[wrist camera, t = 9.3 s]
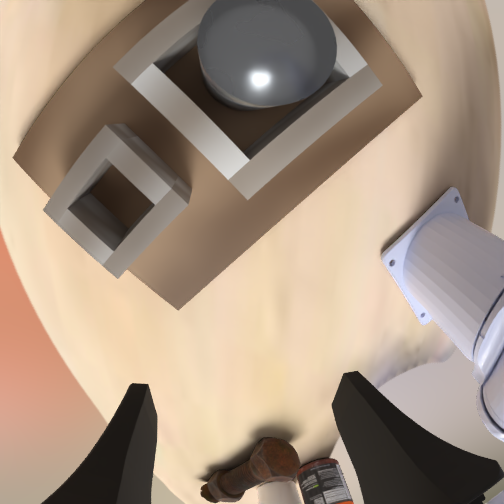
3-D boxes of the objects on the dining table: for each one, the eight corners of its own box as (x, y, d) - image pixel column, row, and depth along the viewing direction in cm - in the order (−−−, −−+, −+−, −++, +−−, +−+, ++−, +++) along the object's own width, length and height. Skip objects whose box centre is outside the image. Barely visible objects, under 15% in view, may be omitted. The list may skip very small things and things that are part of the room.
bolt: (203, 470, 33) (270, 426, 29) (231, 489, 32) (304, 450, 28) (184, 498, 28) (254, 462, 23) (215, 518, 27) (293, 487, 22)
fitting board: (413, 96, 15) (454, 97, 12) (179, 301, 19) (174, 342, 15) (267, -67, 10) (281, -101, 6) (21, 155, 13) (-18, 167, 10)
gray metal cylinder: (306, 79, 13) (361, 62, 8) (238, 128, 14) (257, 133, 9) (254, 16, 12) (280, -35, 6) (183, 64, 12) (168, 31, 7)
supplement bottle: (322, 473, 35) (342, 535, 24) (287, 475, 33) (304, 542, 23) (345, 455, 33) (371, 521, 22) (310, 457, 31) (332, 531, 21)
